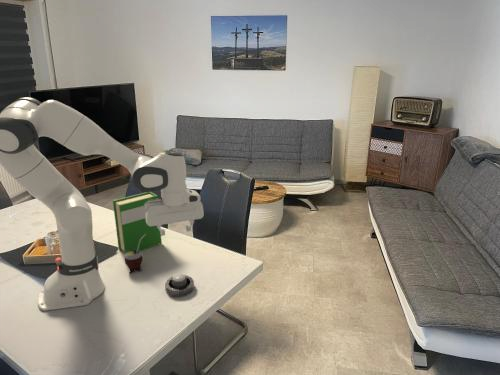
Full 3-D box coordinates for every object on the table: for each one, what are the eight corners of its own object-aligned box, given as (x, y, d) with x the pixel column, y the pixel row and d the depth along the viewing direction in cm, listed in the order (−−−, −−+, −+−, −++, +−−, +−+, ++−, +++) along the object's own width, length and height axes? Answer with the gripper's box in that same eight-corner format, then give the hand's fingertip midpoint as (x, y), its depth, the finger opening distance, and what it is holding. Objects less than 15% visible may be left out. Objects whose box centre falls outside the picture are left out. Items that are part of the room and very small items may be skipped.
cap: (174, 293, 140) (173, 282, 139) (170, 285, 145) (169, 275, 144) (188, 289, 143) (188, 279, 141) (184, 281, 147) (184, 271, 146)
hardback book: (125, 255, 167) (119, 205, 159) (118, 249, 172) (112, 200, 164) (161, 243, 178) (157, 195, 170) (154, 237, 183) (149, 191, 175)
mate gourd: (122, 271, 155) (118, 239, 150) (134, 262, 162) (131, 230, 156) (137, 275, 152) (133, 242, 147) (149, 266, 159) (146, 233, 154)
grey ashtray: (169, 299, 137) (169, 293, 137) (163, 284, 146) (162, 278, 145) (197, 292, 142) (196, 286, 141) (189, 278, 150) (189, 272, 150)
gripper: (145, 203, 125) (148, 241, 129) (204, 195, 133) (205, 231, 137) (142, 197, 130) (144, 233, 134) (199, 190, 138) (200, 224, 143)
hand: (175, 232), depth 136 cm, fingers open, 8 cm apart
